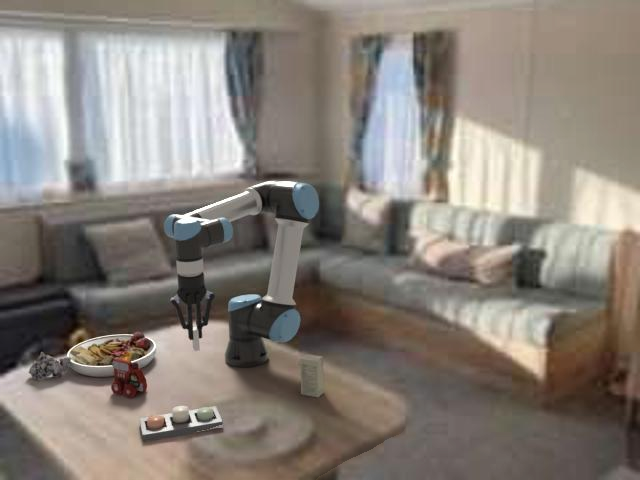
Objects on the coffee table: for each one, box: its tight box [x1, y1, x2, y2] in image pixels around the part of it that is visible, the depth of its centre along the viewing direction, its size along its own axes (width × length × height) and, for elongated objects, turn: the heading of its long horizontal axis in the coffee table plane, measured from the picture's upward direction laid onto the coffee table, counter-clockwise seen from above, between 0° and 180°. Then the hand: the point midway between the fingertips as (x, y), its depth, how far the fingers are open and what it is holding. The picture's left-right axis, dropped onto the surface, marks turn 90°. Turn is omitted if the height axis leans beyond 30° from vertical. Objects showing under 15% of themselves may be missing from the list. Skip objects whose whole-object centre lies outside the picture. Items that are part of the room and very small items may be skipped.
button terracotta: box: [146, 414, 165, 430], centre depth 187 cm, size 5×5×3 cm
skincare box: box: [299, 353, 325, 398], centre depth 209 cm, size 6×4×12 cm
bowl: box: [66, 331, 157, 378], centre depth 234 cm, size 30×30×8 cm
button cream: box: [171, 405, 190, 423], centre depth 189 cm, size 5×5×3 cm
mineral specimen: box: [28, 351, 72, 382], centre depth 222 cm, size 12×9×10 cm
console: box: [139, 405, 224, 442], centre depth 190 cm, size 22×10×2 cm, turn 110°
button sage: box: [196, 406, 214, 422], centre depth 192 cm, size 5×5×3 cm
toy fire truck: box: [110, 359, 148, 399], centre depth 211 cm, size 7×12×10 cm, turn 64°
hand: (196, 348), depth 197 cm, fingers closed
